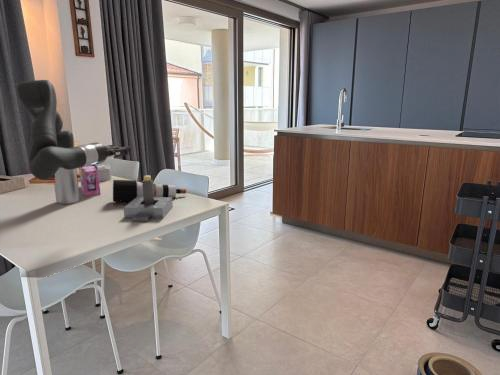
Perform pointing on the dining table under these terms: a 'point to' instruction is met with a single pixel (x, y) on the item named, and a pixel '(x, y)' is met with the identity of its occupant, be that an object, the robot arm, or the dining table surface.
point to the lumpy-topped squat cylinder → (104, 172)
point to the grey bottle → (148, 190)
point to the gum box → (89, 180)
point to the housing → (148, 209)
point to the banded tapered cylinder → (140, 190)
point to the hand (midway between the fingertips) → (121, 148)
